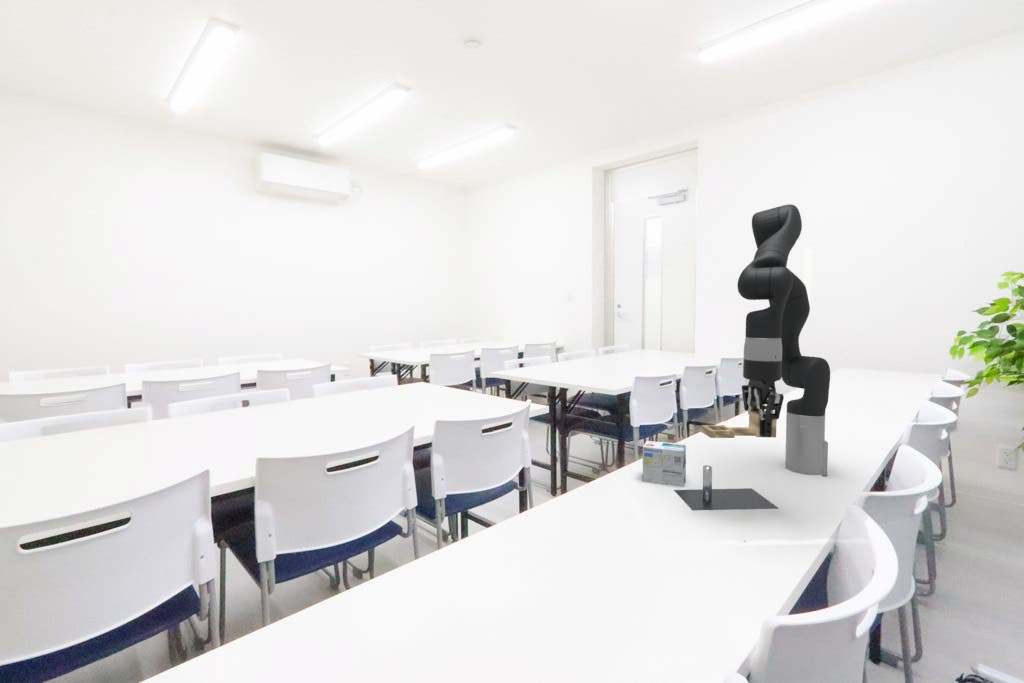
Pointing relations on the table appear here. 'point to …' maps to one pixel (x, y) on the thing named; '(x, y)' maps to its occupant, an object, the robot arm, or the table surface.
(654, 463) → the light bulb box
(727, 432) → the tan wooden piece
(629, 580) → the table surface
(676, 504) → the table surface
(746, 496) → the post stand
